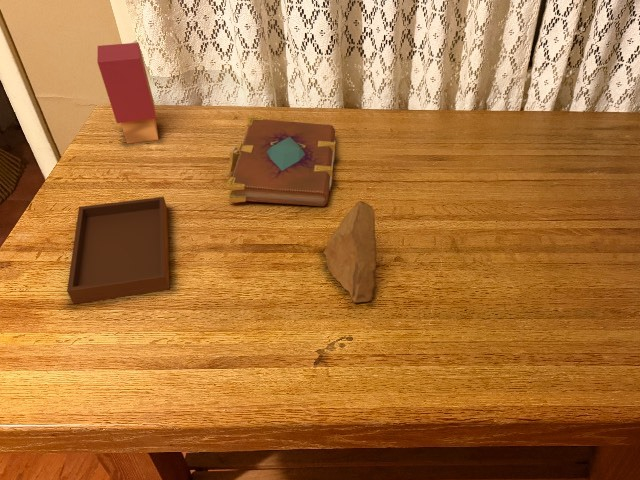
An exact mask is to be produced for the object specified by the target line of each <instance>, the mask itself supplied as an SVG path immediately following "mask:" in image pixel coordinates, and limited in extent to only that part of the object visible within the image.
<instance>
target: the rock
mask: <svg viewBox="0 0 640 480" xmlns="http://www.w3.org/2000/svg"><path fill="white" fill-rule="evenodd" d="M323 255H325V259H326V265H327V270H328V271H329V272H330V273H331V275H332V277H333V278H334V279H335V280H336V281H337V282H338V283H340V285H341V287H342V288H343V289H344V290H346V291H347V292H348V293H349V296H350V300H352V302H353V303H355V304H359V303H369V302H371V301H372V300H373V297H374V291H375V289H376V272H377V238H376V221H375V210H374V207H373V206H372V205H370V204H369V203H367V202H364V201H363V200H359V201H357V202H356V204H355V205H354V206H353V207H352V208H350V210H349V211H348V212H347V213H346V214H345V216H344V217H343V219H342V220H341V221H340V223H339V225H338V227H337V228H336V229H335V230H334V231H333V232H332V234H331V235H330V237H329V239H328V241H327V243H326V247H325V249H324V251H323Z"/></svg>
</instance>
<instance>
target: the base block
mask: <svg viewBox="0 0 640 480" xmlns="http://www.w3.org/2000/svg"><path fill="white" fill-rule="evenodd" d="M156 120H157V119H150V120H141V121H132V122H124V123H120V125H121V129H122V132H123V135H124V138H125V142H126V144H134V143H135V144H136V143H145V142H152V141H159V132H158V124H157V121H156Z"/></svg>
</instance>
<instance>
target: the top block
mask: <svg viewBox="0 0 640 480" xmlns="http://www.w3.org/2000/svg"><path fill="white" fill-rule="evenodd" d="M96 59H97V66H98V69H99V72H100V74H101V78H102V81H103V84H104V87H105V90H106V93H107V97H108V101H109V104H110V106H111V109H112V113H113V116H114V120H115V122H116V124H121V123H124V122H132V121H141V120H150V119H155V120H157V115H156V108H155V107H156V106H155V100H154V96H153V93H152V89H151V86H150V81H149V78H148V74H147V70H146V66H145V63H144V59H143V54H142V50H141V47H140V42H129V43H117V44H115V43H114V44H103V45H97V58H96Z"/></svg>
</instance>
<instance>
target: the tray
mask: <svg viewBox="0 0 640 480" xmlns="http://www.w3.org/2000/svg"><path fill="white" fill-rule="evenodd" d="M77 211H78V212H77V218H76V224H75V225H76V226H75V233H74V238H73V239H74V240H73V246H72V254H71V261H70V268H69V274H68V281H67V282H68V283H67V288H66V292H67V294H68V296H69V298H70V300H71V302H72V304H73V305H76V304H82V303H84V304H85V303H89V302H97V301H103V300H104V301H105V300H110V299H116V298H122V297H129V296H135V295H143V294H148V293H155V292H161V291H168V290H171V286H170V285H171V284H170V251H169V217H168V216H169V214H168V207H167V203H166V199H165V197H164V196H159V197H151V198H149V197H148V198H142V199H133V200H132V199H131V200H125V201H116V202H108V203H99V204H91V205H83V206H78V210H77Z"/></svg>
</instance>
